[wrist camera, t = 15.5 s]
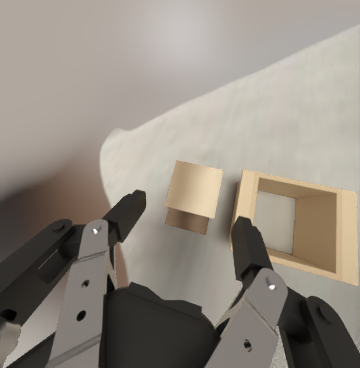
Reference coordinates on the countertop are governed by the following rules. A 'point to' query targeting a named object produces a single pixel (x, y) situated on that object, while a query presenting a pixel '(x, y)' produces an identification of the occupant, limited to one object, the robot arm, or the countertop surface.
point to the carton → (309, 224)
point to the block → (194, 189)
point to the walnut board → (187, 220)
